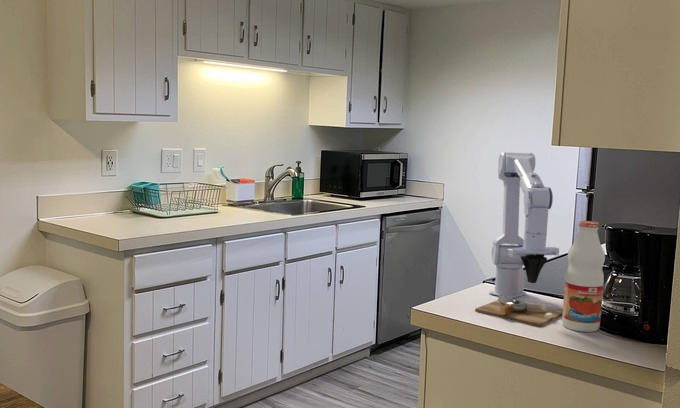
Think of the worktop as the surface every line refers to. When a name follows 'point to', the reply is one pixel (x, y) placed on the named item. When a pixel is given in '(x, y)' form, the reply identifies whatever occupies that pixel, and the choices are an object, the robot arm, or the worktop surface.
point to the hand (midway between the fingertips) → (531, 282)
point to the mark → (548, 315)
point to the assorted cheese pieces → (518, 306)
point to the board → (519, 314)
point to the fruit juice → (584, 280)
